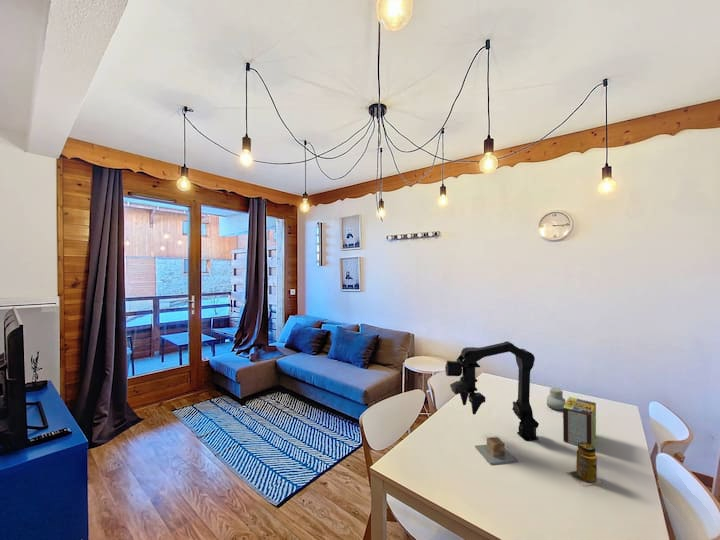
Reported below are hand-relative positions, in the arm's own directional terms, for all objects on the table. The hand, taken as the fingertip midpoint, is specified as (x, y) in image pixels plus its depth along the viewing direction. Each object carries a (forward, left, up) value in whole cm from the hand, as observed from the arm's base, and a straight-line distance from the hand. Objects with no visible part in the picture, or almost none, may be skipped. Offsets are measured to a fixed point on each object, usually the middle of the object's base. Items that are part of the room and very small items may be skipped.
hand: (469, 409), depth 142 cm
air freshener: (-61, -19, -12) cm, 65 cm away
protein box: (-48, +10, -12) cm, 51 cm away
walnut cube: (-4, +15, -11) cm, 19 cm away
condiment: (-28, +33, -12) cm, 45 cm away
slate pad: (-4, +15, -12) cm, 20 cm away
